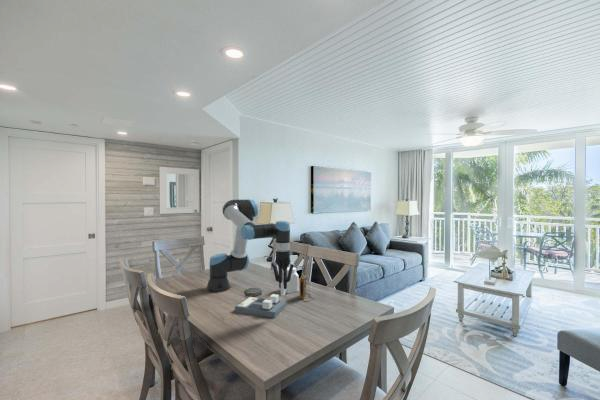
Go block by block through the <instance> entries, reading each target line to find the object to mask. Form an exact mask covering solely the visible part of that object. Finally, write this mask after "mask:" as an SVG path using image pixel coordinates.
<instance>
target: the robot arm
mask: <svg viewBox="0 0 600 400" xmlns="http://www.w3.org/2000/svg"><path fill="white" fill-rule="evenodd" d="M222 214H223V216H224V218H226V219H227V220H229V221H231V222H232V223H233V224H234V225H235V226H236V230H235V236H234V244H233V248H232V249H231V251H230V252H229V253H230V254H229V255H228V254H227V253H218V254H214V255H212V256H211V257H210V258H209V264H208V265H209V279H208V282H207V285H206V291H207V292H211V293H222V292H225V291H226V292H227V291H228V290H229V289H230V288H231V287H230V285H231V284H230V281H229V279H228V273H231V272H232V273H233V272H238V271H239V272H241V271H245V270H246V269H247V268H248V267H249V265H250V256H249V254H248V252H247V251H246V250H247V246H248V245H247V243H248V240H257V239H258V240H259V239H269V238H275V250H276V251H275V260H274V262H272V263H270V266H272V269H273V270H272V271H273V274H274V278H275V279H274V280H275V281H276V282H278V288H279V289H280V296H285V295H286V293H285V289H286V288H287V282H289V281H290V279H291V275H292V270H293V267H295V265H296V264H295V263H294V262H291V251H290V249H291V242H290V241H291V225H290V222H289V221H288V220H278V221H276V222H275V223H273V222H271V223H266V224H265V223H264V224H263V223H262V224H261V223H260V224H256V223H254V222H253V221H254V219H255V217H257V216H258V214H259V207H258V203H257V201H256V200H254V199H249V198H248V199H230V200H228V201H226V202H225V204H224V205H223V206H222ZM287 267H290V268H289V272H288V277H287ZM282 281H283V282H282Z"/></svg>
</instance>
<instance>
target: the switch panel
mask: <svg viewBox="0 0 600 400" xmlns="http://www.w3.org/2000/svg"><path fill="white" fill-rule="evenodd" d="M266 299H267V300H270V298H263V297H262V298H261V297H255V296H249V297H248V296H247V298H245V299H244V300H242V301H241V302H240V303H238V304H236V305H235V307H234V312H235V313H240V314H241V313H242V314H245V315H246V314H249V315H253V316H254V315H255V316H260V317H265V318H266V317H267V318H274V319H276V317H277V316H279V314H280V313H282V311H284V309H286V307H287V301H284V300H279V301H278V302H277V303H272V307H271V308H270V309H263V308H262V302H263V301H264V300H266Z"/></svg>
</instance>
